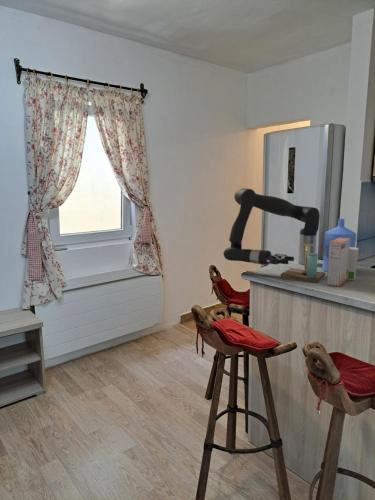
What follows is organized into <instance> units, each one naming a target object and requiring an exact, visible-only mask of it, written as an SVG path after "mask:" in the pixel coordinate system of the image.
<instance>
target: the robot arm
mask: <svg viewBox="0 0 375 500" xmlns="http://www.w3.org/2000/svg"><path fill="white" fill-rule="evenodd" d="M234 201H235V202H236V203H237V204H238V205H240V208H239V211H238V215H237V216H236V219H235V221H234V222H233V225H232V226H231V229H230V234H229V237H228V239H229V240H228V241H229V242H230V247H227V248H225V249H224V251H223V257H224V258H225V259H226V260H228V261H234V262H245V263H250V264H256V265H265V266H269V265H270V264H271V265H280V264H282V265H289V263H290V262H294V261H295V257H294V256H290V255H289V256H288V255H287V254H281V253H275V254H274V253H273V254H272V253H271V251H270V250H264V249H253V248H252V249H250V248H242V247H243V246H242V245H243V244H242V243H243V242H242V241H243V239H244V234H245V230H246V228H247V227H246V226H247V223H248V221H249V217H250V215H251V212H252V210H253V208H256V209H259V210H262V211H264V212H266V213H270V214H272V215H277V216H281V217H289V218H291V219H292V218H293V219H295V220H298V221H300V222H302V223H304V227H303V228H301V229H300V231H299V247H298V264H299V265H303V266H305V249H306V246H305V245H303V243H311V244H314V246H311V253H316V247H317V234H318V230H319V229H320V228H319V225H320V219H321V217H320V216H321V215H320V210H319V209H318V208H316V207H313V206H303V205H296V204H294V203H292V202H289V201H288V200H287V199H284V198H280V197H276V196H272V195H263V194H258V193H256V192H255V190H254V189H251V188H245V187H244V188H240V189H237V191H235V193H234Z"/></svg>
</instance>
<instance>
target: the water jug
mask: <svg viewBox="0 0 375 500" xmlns="http://www.w3.org/2000/svg"><path fill="white" fill-rule="evenodd" d="M337 220H338V222H337V226H336V227H334V228H332V229H329V230H327V231H325V232H324V245H325V249H324V256H323V259H322V260H323V261H322V270H323V271H324V272H327V273H328V263H329V243H330V241H332V240H335V239H337V238H350V239H351V241H350V247H355V248H356V242H357V233H356V232H355V231H353V230H351V229H349V228H347V227H346V226H345V218H338V219H337Z"/></svg>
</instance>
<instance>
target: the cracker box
mask: <svg viewBox="0 0 375 500" xmlns="http://www.w3.org/2000/svg"><path fill="white" fill-rule="evenodd" d="M350 241H351V239H350V238H337V239H335V240H332V241H330V243H329V254H328V255H329V263H328V272H327V286H333V287H341V286H342V285H343V284H345V283H346V282H348V281H349V280H348V273H349V257H350Z"/></svg>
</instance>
